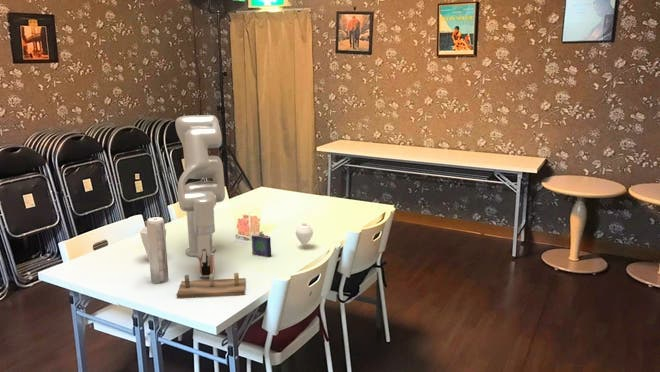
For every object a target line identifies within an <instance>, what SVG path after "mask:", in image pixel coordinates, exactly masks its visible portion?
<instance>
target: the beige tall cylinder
mask: <svg viewBox="0 0 660 372" xmlns="http://www.w3.org/2000/svg"><path fill="white" fill-rule="evenodd" d="M146 227H147V237H148V249H149V261H148V262H149V271H150V281H151V283H152V284H155V285H160V284H165V283H167V282H168V281H169V279H170V278H169V276H170V275H169V263H168V251H167V239H166V237H167V235H166V236H165V227H166V226H165V220H164V218H163V217H161V216H156V217H149V218H148V219H147V221H146Z"/></svg>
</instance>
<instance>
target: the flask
mask: <svg viewBox="0 0 660 372" xmlns="http://www.w3.org/2000/svg"><path fill="white" fill-rule="evenodd" d="M263 232H264V231H260V232H258V234H255V233H254V234H251V254H252V255H253V256H257V257H263V258H264V257H265V258H271V257H272V247H271V243H272V241H271V240H272V239H271V236H270V235H265V233H263Z"/></svg>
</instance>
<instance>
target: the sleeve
mask: <svg viewBox="0 0 660 372" xmlns="http://www.w3.org/2000/svg"><path fill="white" fill-rule="evenodd" d="M206 258H208V257H206ZM214 259H215V257H214V254H211V258H210V259H209V265H210V273H211V274H214V275H215V271H216V269H215V261H214ZM206 261H207V262H208V260H206ZM198 265H199V267H198V268H199V274H198V275H199V278H202V277H203V278H207V277H209V278H210V275H204V276H203V275H202V257H201V259H198Z"/></svg>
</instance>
